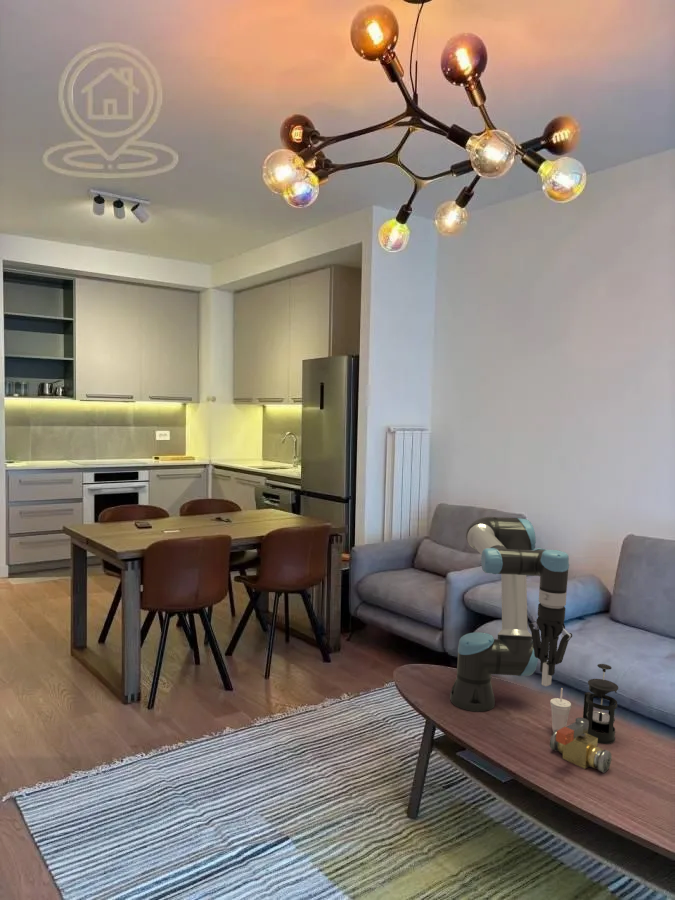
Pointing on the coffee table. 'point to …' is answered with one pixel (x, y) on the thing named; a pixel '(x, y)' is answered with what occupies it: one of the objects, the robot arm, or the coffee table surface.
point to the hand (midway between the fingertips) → (546, 684)
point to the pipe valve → (583, 752)
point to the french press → (599, 718)
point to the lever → (572, 731)
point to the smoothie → (559, 712)
